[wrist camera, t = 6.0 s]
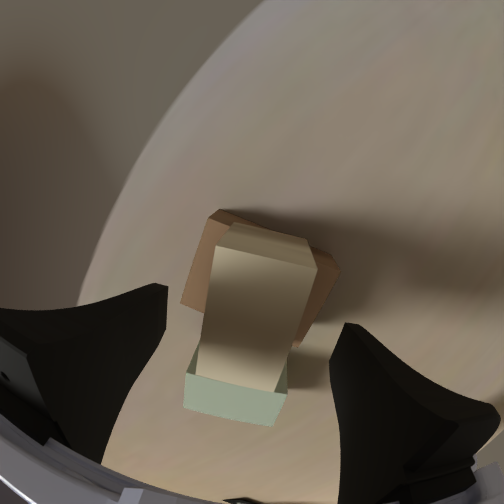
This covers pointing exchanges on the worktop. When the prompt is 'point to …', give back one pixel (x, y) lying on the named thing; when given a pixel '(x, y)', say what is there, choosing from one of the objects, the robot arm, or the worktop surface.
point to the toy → (237, 502)
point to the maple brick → (254, 305)
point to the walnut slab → (203, 262)
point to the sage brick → (233, 397)
